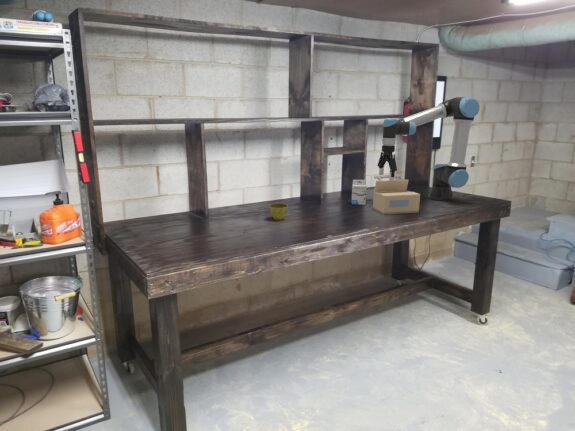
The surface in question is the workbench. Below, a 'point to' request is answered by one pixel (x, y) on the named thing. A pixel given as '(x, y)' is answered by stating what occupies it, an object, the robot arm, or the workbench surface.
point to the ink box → (359, 192)
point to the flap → (390, 183)
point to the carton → (396, 202)
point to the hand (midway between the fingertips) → (386, 180)
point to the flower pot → (278, 211)
